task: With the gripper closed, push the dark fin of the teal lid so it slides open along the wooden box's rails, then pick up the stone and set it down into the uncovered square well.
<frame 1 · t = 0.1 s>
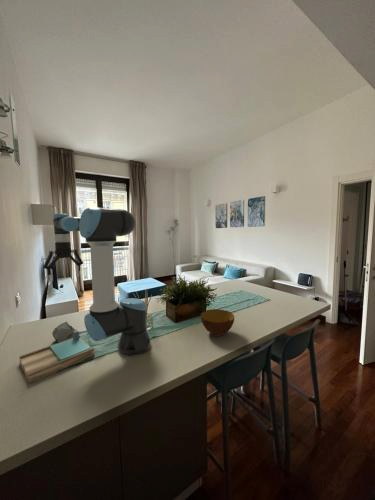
hand: (65, 278, 125), 28 cm above the table, fingers open, 13 cm apart
wooden box: (58, 359, 95), on the table
bowl: (217, 333, 117), on the table
lid: (69, 343, 98), point 5 cm above the table, slide at 0.0 cm
stone: (63, 340, 111), on the table
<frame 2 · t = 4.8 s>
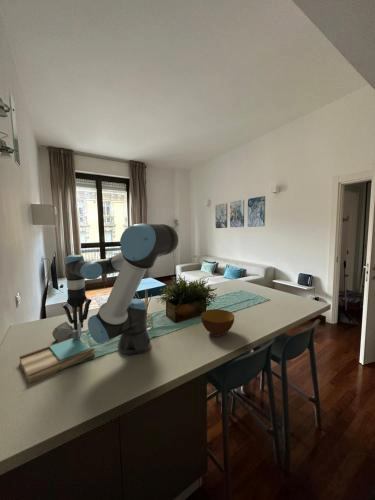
hand: (78, 335, 106), 5 cm above the table, fingers closed
lid: (69, 343, 98), point 5 cm above the table, slide at 0.2 cm, touching gripper
everything else where it was.
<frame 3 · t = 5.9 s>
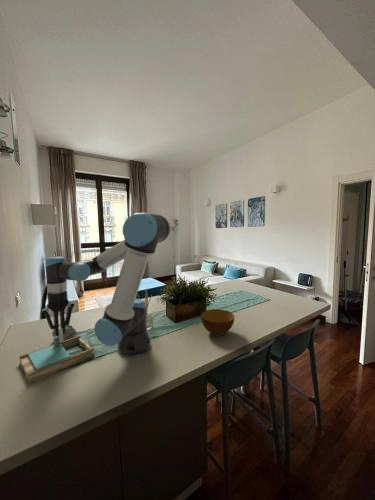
hand: (60, 341, 100), 5 cm above the table, fingers closed
lid: (48, 351, 92), point 5 cm above the table, slide at 8.2 cm, touching gripper
everything else where it was.
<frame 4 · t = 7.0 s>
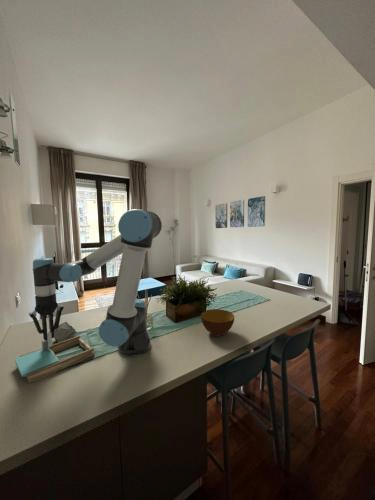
hand: (49, 345, 96), 5 cm above the table, fingers closed
lid: (36, 356, 88), point 5 cm above the table, slide at 12.8 cm, touching gripper
everything else where it was.
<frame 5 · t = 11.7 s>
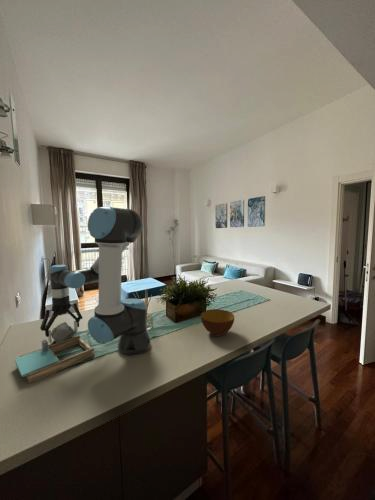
hand: (63, 337, 111), 1 cm above the table, fingers closed on stone, 11 cm apart
lid: (36, 356, 88), point 5 cm above the table, slide at 12.8 cm
stone: (62, 341, 110), on the table, touching gripper
everything else where it was.
when the fingers open (5 cm above the table, at t = 17.3 s): stone drops 4 cm, resting in wooden box.
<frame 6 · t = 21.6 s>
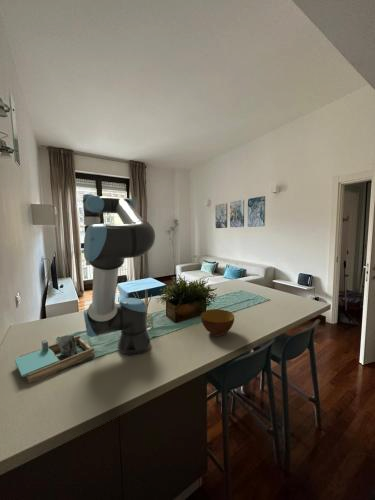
hand: (94, 266, 114), 37 cm above the table, fingers open, 13 cm apart
stone: (68, 354, 99), resting in wooden box
everything else where it was.
at the end: lid slide at 12.8 cm; stone inside the target area on the wooden box (1.0 cm from its centre), point 0.0 cm above the wooden box's base; the gripper is holding nothing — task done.
